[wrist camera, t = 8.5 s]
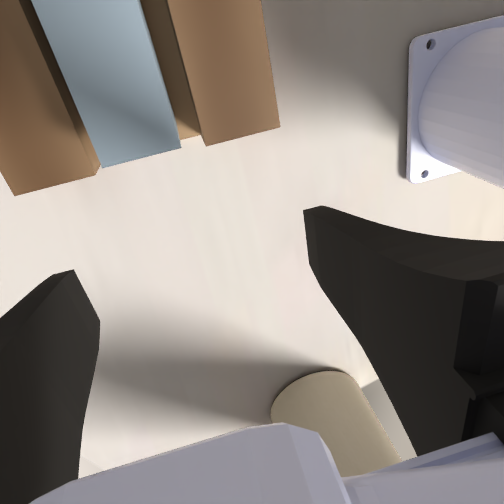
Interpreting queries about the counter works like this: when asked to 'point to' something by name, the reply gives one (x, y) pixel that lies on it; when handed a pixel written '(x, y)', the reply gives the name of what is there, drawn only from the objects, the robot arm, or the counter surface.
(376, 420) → the travel mug
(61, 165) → the slot block
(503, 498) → the robot arm
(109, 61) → the pale blue tapered bar
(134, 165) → the counter surface
